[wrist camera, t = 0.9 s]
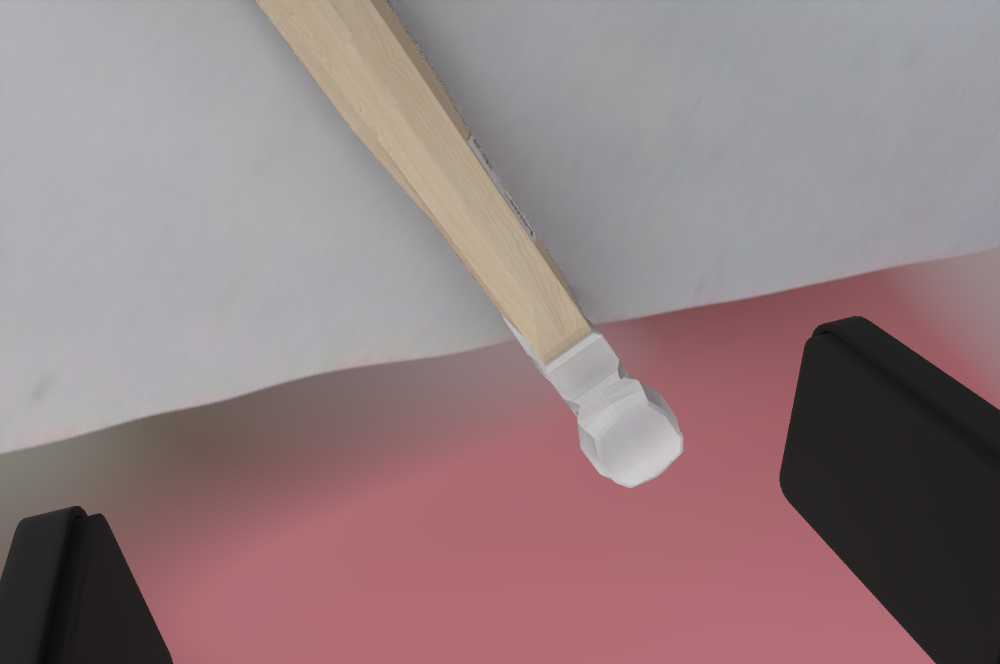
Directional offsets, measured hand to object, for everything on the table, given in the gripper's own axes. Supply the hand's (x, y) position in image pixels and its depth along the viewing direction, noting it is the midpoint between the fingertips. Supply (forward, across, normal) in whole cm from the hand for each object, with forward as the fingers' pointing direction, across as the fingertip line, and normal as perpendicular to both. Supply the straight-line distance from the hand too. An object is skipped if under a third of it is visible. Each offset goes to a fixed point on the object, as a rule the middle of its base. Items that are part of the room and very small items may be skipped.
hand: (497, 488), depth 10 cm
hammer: (+33, -6, +7) cm, 34 cm away
